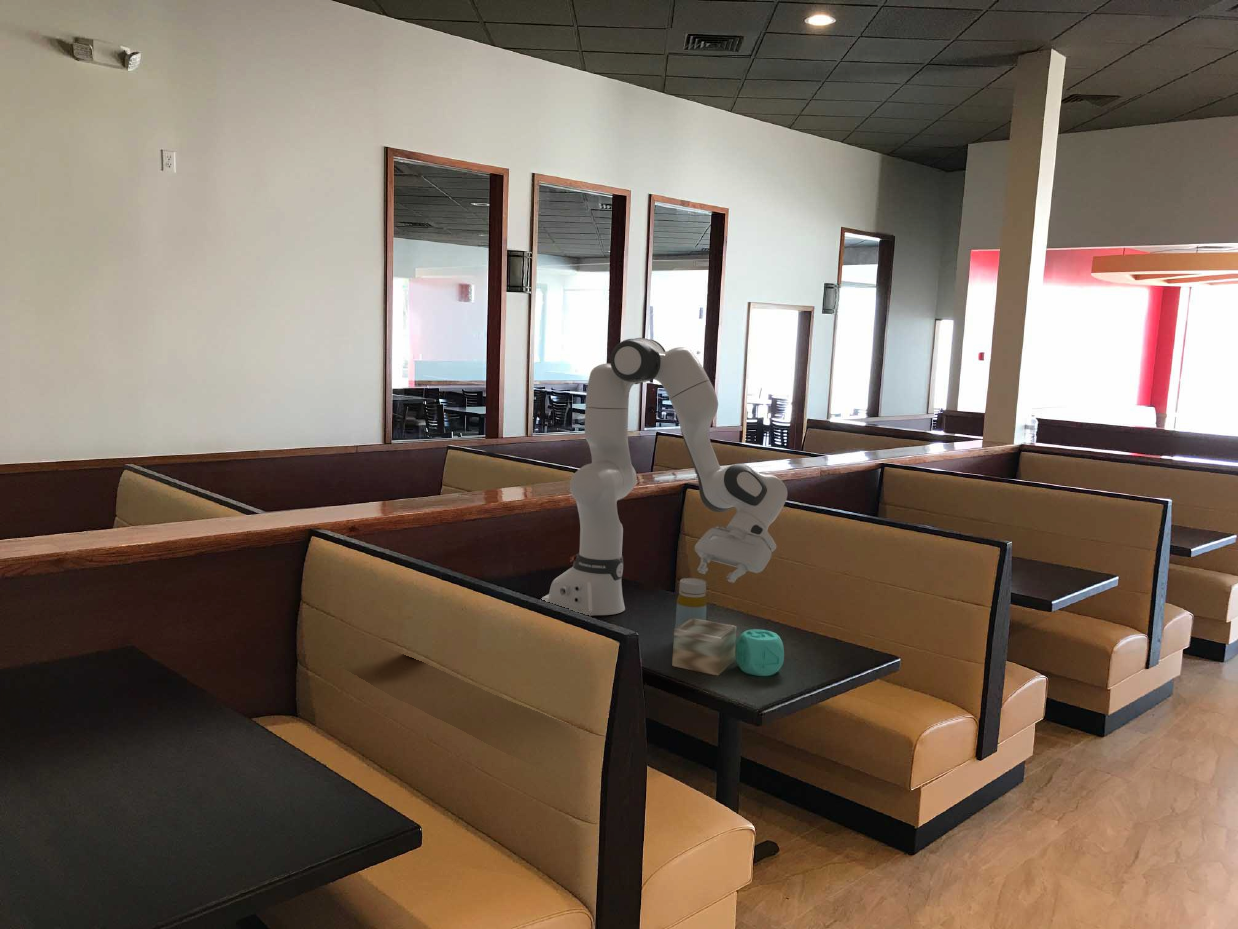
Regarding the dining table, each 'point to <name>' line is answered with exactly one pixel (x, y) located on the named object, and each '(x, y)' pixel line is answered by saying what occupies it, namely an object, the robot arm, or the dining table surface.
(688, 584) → the bottle
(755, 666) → the decorative dice
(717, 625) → the open square box
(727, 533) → the robot arm
